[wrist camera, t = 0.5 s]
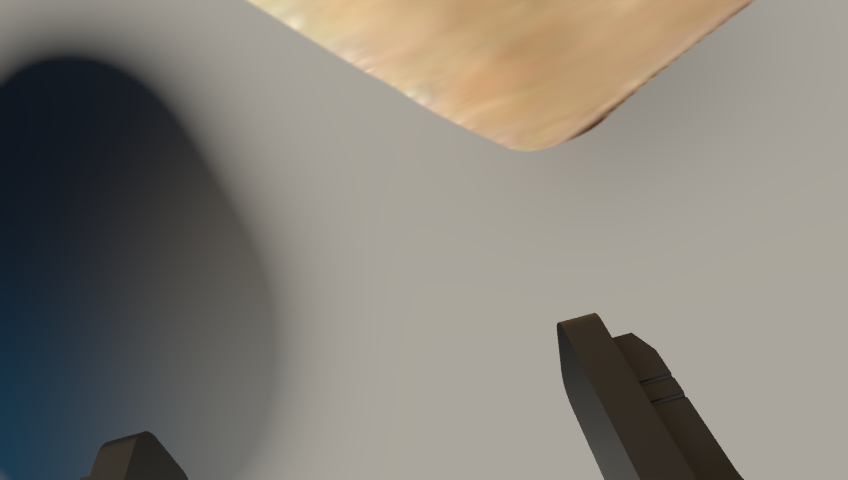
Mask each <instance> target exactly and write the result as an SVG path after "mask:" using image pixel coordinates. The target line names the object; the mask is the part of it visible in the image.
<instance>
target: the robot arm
mask: <svg viewBox="0 0 848 480" xmlns="http://www.w3.org/2000/svg"><path fill="white" fill-rule="evenodd" d="M557 335H558V344H559V353H560V362H561V372H562V378H563V383H564V386H565V389H566V393H567V396H568V399H569V401H570V404H571V406H572V409H573V411H574V413H575V415H576V417H577V420H578V422H579V424H580V426H581V429H582V431H583V433H584V435H585V437H586V439H587V442H588V444H589V446H590V448H591V451H592V453H593V455H594V457H595V459H596V462H597V464H598V466H599V468H600V471H601V473H602V475H603V477H604V480H744V479H743V478H742V477H741V476H740V475H739V473H738V472H737V471H736V469H735V468H734V466H733V465H732V463H731V462H730V460H729V459H728V458H727V456H726V454H725V453H724V451H723V450H722V449H721V447H720V445H719V444H718V442H717V441H716V439H715V438H714V436H713V435H712V433H711V432H710V430H709V429H708V427H707V426H706V424H705V423H704V421H703V420H702V419H701V417H700V415H699V414H698V413H697V411H696V410H695V408H694V407H693V405H692V404H691V402H690V400H689V399H688V398H687V397H685V395H684V392H683V390H682V388H681V387H680V386H679V384H678V382H677V381H676V380H675V378H673V377H672V375H671V372H670V370H669V369H668V368H667V366H666V365H665V363H664V362H663V360H662V359H661V357H660V356H659V354H658V353H657V351H656V350H655V349H654V348H652V347H651V346H650V345H648V344H647V343H645V342H644V341H642V340H641V339H640V338H638V337H637V336H635V335H634V334H632V333H629V334H625V335H622V336H618V337H614V338H612V337H611V335H610V333H609V332H608V330H607V328H606V327H605V325H604V323H603V322H602V320H601V319H600V317H599V316H598V315H597V314H596V313H593V314H589V315H585V316H582V317H578V318H574V319H570V320H566V321H563V322H559V323H557ZM80 480H188V478H187V476H186V474H185V473H184V471H183V470H182V469H181V468H180V466H179V465H178V464H177V463H176V462H175V460H174V459H173V458H172V457H171V455H170V454H169V453H168V452H167V451H166V449H165V448H164V447H163V446H162V445H161V443H160V442H159V441H158V439H157V438H156V437H155V436H154V435H153V434H152V433H150V432H148V431H145V432H141V433H138V434H134V435H130V436H126V437H123V438H119V439H115V440H111V441H108V442H106V443H104V444H103V445H102V446H101V448H100V450H99V452H98V454H97V457H96V460H95V463H94V465H93V468H92V471H91V474H90V476H87V477H83V478H81V479H80Z"/></svg>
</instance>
